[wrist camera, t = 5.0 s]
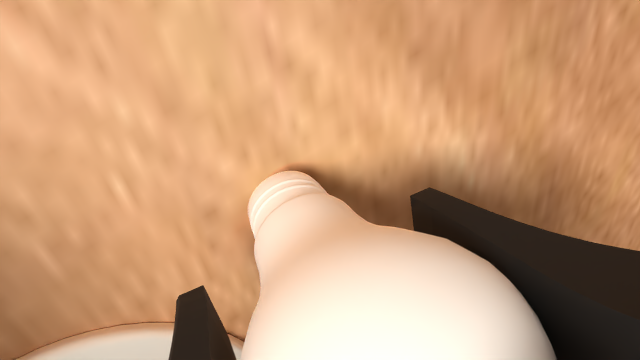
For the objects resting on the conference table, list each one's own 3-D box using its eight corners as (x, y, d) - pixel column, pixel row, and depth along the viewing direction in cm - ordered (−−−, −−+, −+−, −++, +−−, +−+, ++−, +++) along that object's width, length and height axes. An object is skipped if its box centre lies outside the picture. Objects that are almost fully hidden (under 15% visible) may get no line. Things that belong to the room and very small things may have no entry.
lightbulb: (286, 290, 18) (459, 663, 9) (144, 222, 14) (190, 713, 5) (392, 169, 17) (701, 444, 8) (268, 66, 14) (561, 345, 5)
